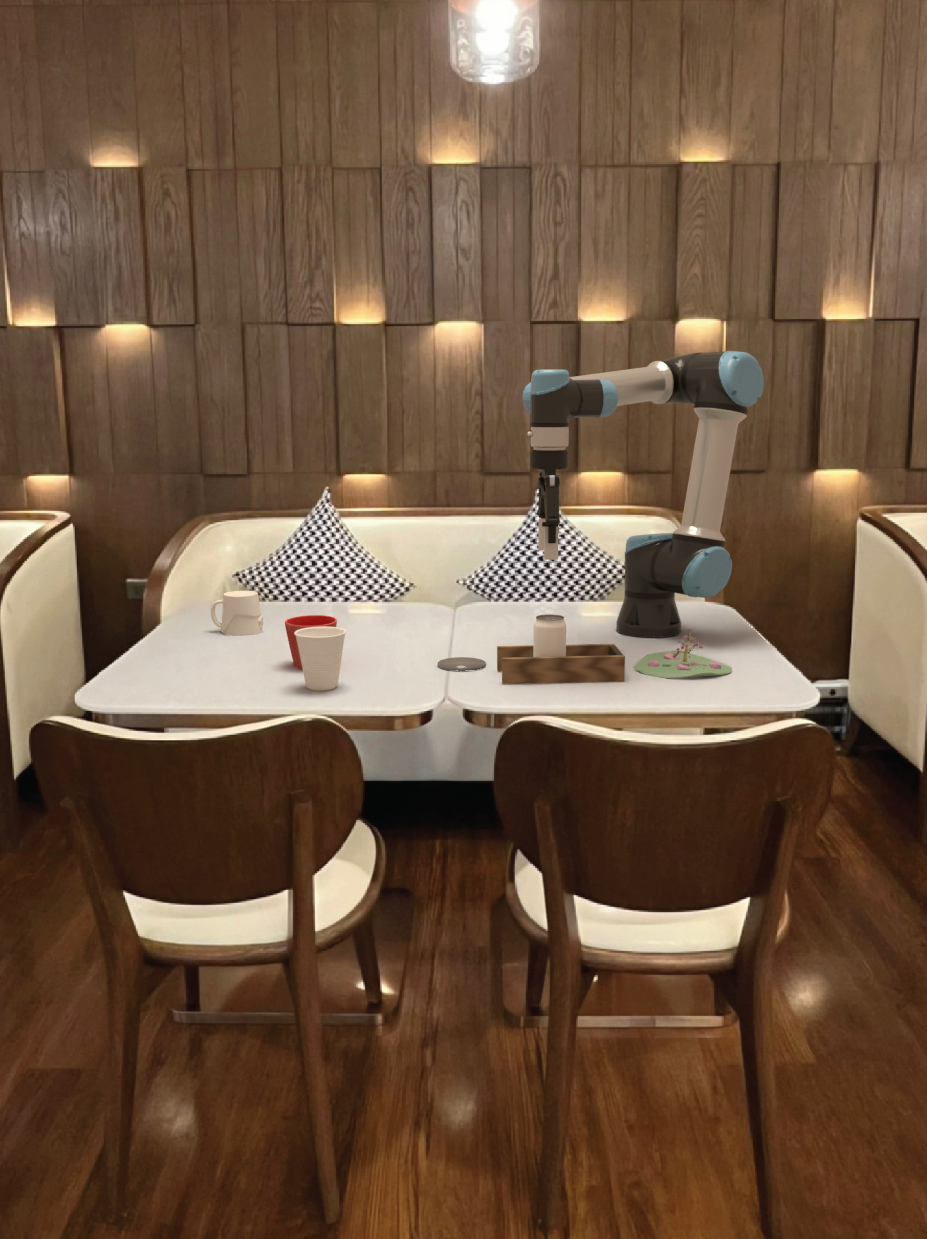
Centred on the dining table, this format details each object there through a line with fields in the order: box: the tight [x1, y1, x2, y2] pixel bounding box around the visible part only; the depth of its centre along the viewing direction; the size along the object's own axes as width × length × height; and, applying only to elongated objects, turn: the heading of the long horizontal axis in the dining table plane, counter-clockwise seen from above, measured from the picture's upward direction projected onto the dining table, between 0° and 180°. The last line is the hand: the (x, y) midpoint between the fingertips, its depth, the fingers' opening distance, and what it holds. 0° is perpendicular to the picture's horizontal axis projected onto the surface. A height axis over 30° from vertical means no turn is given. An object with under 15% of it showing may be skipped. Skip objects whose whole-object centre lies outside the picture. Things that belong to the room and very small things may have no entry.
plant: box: [633, 628, 733, 680], centre depth 238 cm, size 25×21×9 cm
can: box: [533, 614, 567, 657], centre depth 229 cm, size 6×6×12 cm
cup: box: [294, 626, 347, 692], centre depth 221 cm, size 10×10×11 cm
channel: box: [496, 643, 626, 685], centre depth 230 cm, size 24×11×5 cm, turn 94°
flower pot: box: [284, 614, 338, 670], centre depth 239 cm, size 11×11×10 cm
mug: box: [210, 590, 264, 637], centre depth 272 cm, size 12×9×8 cm
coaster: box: [437, 656, 487, 672], centre depth 239 cm, size 10×10×1 cm
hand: (547, 554), depth 233 cm, fingers open, 13 cm apart
